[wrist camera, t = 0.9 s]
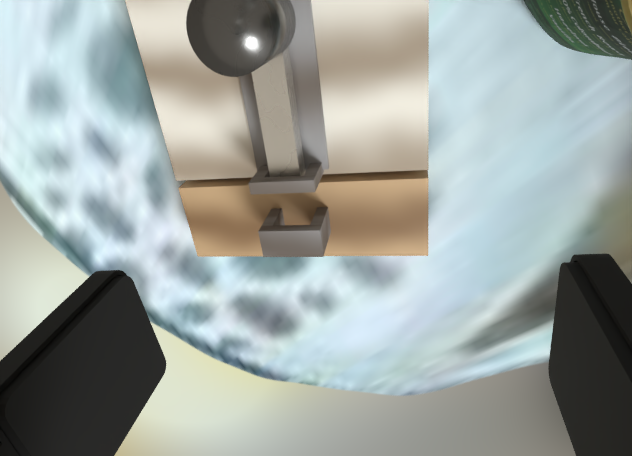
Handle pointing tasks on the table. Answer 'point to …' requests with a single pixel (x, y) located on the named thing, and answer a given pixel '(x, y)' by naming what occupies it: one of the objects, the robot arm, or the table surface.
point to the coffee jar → (587, 24)
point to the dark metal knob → (255, 66)
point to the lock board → (316, 133)
